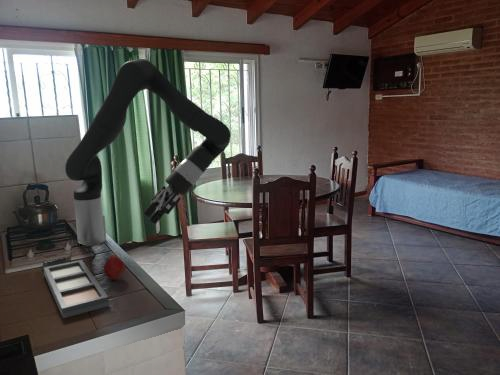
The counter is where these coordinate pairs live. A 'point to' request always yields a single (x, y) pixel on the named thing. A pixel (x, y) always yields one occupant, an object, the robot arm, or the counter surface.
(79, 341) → the counter surface
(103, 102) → the robot arm
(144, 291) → the counter surface
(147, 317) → the counter surface
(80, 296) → the terracotta key
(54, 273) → the keypad
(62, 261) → the phone
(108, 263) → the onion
